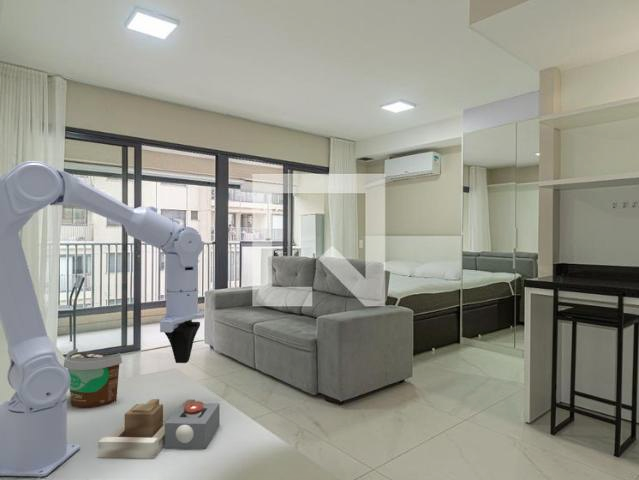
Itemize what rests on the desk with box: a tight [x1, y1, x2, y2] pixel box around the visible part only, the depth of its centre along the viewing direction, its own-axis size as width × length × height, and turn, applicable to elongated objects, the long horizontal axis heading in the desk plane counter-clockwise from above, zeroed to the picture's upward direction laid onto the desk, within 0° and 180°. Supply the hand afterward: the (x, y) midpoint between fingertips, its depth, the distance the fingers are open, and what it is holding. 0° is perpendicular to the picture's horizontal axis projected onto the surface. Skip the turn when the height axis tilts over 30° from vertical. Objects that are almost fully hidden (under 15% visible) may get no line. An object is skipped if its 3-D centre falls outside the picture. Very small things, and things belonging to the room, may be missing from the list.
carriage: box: [124, 403, 164, 438], centre depth 67 cm, size 5×4×5 cm
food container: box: [63, 348, 123, 409], centre depth 81 cm, size 12×6×10 cm, turn 73°
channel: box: [97, 398, 196, 459], centre depth 70 cm, size 9×18×2 cm, turn 178°
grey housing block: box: [164, 402, 221, 450], centre depth 68 cm, size 6×8×4 cm
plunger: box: [184, 400, 204, 418], centre depth 68 cm, size 3×3×5 cm
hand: (182, 362), depth 76 cm, fingers closed
